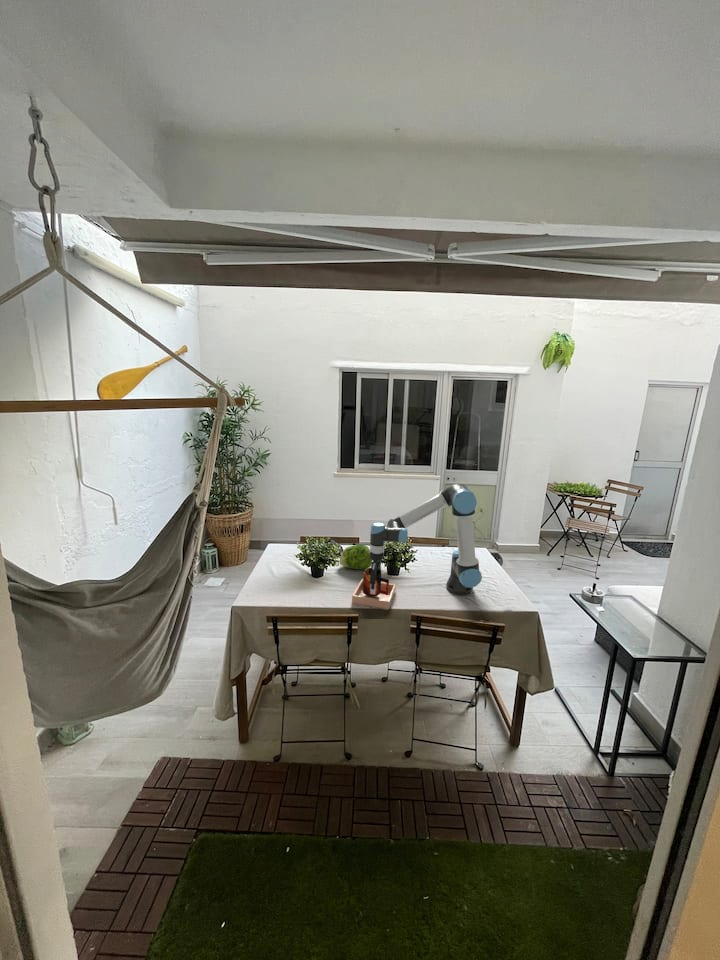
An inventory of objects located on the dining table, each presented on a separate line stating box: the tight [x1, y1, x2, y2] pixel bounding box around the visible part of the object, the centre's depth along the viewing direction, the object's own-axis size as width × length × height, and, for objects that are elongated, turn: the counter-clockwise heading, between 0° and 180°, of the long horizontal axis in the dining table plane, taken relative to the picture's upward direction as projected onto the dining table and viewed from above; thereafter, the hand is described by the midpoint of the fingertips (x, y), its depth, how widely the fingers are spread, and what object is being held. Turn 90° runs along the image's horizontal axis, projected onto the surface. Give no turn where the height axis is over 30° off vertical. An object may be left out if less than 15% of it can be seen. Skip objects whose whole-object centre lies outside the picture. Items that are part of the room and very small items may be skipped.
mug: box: [362, 567, 390, 596], centre depth 223 cm, size 10×14×12 cm
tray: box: [351, 578, 397, 611], centre depth 224 cm, size 20×20×5 cm
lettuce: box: [338, 544, 373, 570], centre depth 259 cm, size 16×21×15 cm
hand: (374, 589), depth 223 cm, fingers closed on mug, 10 cm apart
